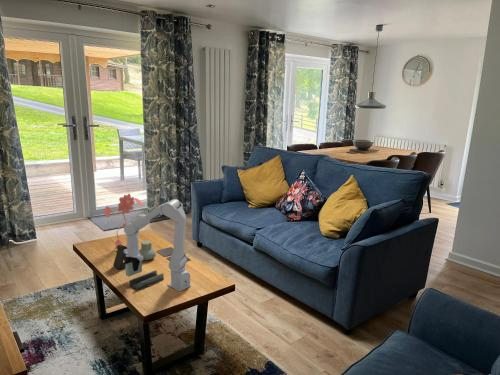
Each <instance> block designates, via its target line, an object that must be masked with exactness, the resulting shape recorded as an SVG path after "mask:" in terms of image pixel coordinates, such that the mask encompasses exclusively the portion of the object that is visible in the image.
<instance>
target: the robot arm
mask: <svg viewBox="0 0 500 375" xmlns="http://www.w3.org/2000/svg"><path fill="white" fill-rule="evenodd" d="M159 215H161V216H163V215H164V216H166V217H167V218H169V219H170V220H172V221H174V235H173V251H172V253H171V257H170V261H169V262H168V268H169V270H170V283H167V286H168V287H171V288H173V289H174V290H176V291H178V292H181V291H184V290H185V289H187V288H190V287H191V286H192V284H191V274H190V272H188V271H187V269H186V264H187V263H188V257H187V252H186V251H185V246H186V245H185V243H186V229H187V228H186V227H187V216H186V212H185V210H184V207H183V203H182V202H181V201H179V199H177V198H172V199H171V200H170V201H166V202H165V203H162V204H160V205H159V206H156V207H155V208H154V209H152V210H151V211H150V212H148V213H147V214H144V213H143V214H141V213H140V214H139V215H137V217H136V218H135V219H131V221H130V222H128V223H127V224H126V226H125V227H124V226H123V232H124V233H125V235H126V247H127V249H125V250H124V254H127V255H126V257H125V258H126V260H127V262H128V263H131V262H132V265H133V270H134V271H137V270H138V267H139V264H140V261H142V262H143V261H144V260H143V256H142V255H141V254H140V252H139V250H140V246H139V240H140V239H139V231H140V230H142V229H143V228H145V227H146V226H148V225H149V224H150V221H151V220H152V219H154V218H155V217H157V216H159Z"/></svg>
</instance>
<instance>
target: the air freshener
mask: <svg viewBox="0 0 500 375" xmlns="http://www.w3.org/2000/svg"><path fill="white" fill-rule="evenodd" d="M140 246H141V248H139V252H140V254H141V255H142V256H143V260H142V261H149V260H152V259H154V258H155V257H156V256H157V252H156V250H155V248H153V247H152V246H153V244H152V241H151V240H142V242H141V243H140Z"/></svg>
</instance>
